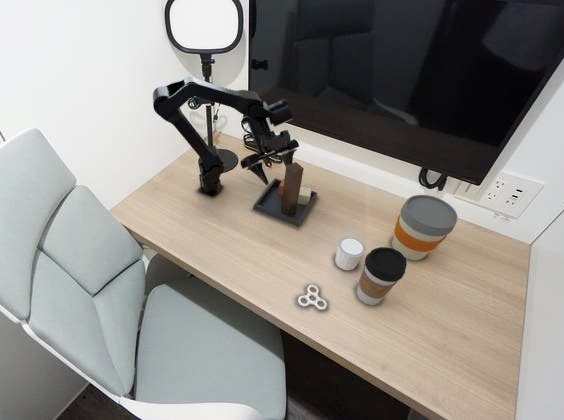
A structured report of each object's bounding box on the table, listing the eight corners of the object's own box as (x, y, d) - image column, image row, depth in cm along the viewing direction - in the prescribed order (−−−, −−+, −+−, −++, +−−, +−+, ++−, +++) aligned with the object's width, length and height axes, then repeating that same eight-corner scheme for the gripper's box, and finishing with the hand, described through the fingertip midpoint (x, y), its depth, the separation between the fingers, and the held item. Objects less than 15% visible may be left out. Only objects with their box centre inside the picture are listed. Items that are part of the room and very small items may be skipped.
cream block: (296, 203, 103) (297, 194, 100) (297, 195, 106) (299, 186, 103) (308, 205, 102) (310, 196, 100) (309, 197, 105) (311, 188, 102)
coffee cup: (391, 309, 77) (415, 275, 66) (356, 309, 77) (374, 275, 66) (380, 280, 83) (400, 244, 72) (347, 280, 83) (363, 244, 72)
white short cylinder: (341, 248, 90) (347, 232, 85) (363, 261, 87) (370, 245, 82) (328, 262, 87) (333, 246, 82) (350, 276, 84) (357, 261, 79)
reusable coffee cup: (436, 241, 91) (461, 204, 81) (428, 272, 84) (455, 236, 73) (391, 225, 96) (409, 188, 86) (380, 253, 89) (399, 216, 78)
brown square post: (280, 211, 101) (286, 165, 88) (289, 207, 102) (295, 161, 90) (287, 217, 99) (293, 172, 86) (296, 213, 100) (303, 168, 87)
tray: (253, 210, 102) (253, 204, 100) (274, 183, 112) (274, 178, 110) (298, 228, 96) (299, 222, 94) (316, 198, 106) (317, 192, 104)
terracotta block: (278, 194, 107) (279, 185, 104) (282, 187, 109) (283, 178, 106) (289, 197, 105) (290, 188, 102) (293, 190, 108) (294, 181, 105)
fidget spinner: (297, 305, 78) (297, 304, 77) (299, 283, 82) (299, 282, 82) (326, 311, 77) (327, 309, 76) (326, 288, 81) (327, 286, 80)
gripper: (245, 133, 86) (266, 186, 86) (299, 114, 92) (318, 164, 93) (231, 144, 96) (250, 191, 97) (281, 127, 102) (298, 171, 103)
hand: (279, 179), depth 97 cm, fingers open, 9 cm apart
